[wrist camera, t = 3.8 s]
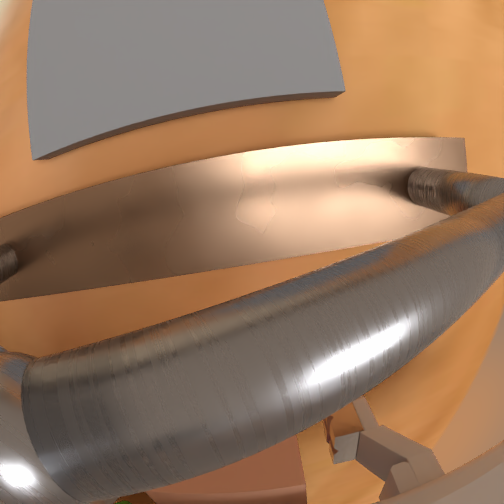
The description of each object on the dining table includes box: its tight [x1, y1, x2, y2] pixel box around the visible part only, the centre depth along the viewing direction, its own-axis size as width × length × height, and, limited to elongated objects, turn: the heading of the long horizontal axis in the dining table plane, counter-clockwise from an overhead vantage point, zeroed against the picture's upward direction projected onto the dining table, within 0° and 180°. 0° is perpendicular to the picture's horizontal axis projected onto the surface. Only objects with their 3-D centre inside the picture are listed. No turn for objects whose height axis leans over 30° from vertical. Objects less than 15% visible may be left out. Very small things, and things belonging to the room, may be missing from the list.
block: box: [145, 435, 307, 504], centre depth 9 cm, size 4×4×6 cm
